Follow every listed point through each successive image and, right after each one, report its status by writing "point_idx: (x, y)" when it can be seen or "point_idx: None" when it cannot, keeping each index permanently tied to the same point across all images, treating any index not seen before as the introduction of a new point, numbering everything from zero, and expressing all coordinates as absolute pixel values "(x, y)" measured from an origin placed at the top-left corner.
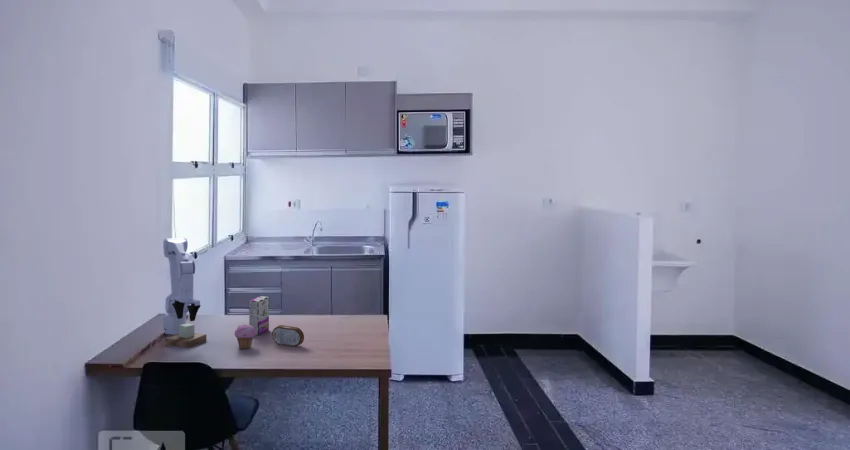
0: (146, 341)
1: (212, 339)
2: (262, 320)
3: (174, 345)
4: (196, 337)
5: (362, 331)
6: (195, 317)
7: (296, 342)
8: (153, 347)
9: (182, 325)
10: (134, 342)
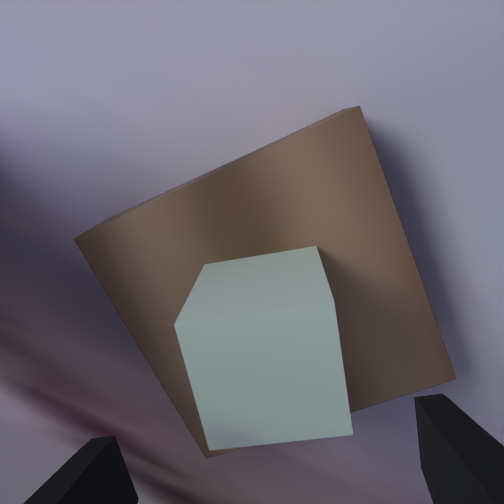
0: (32, 445)
1: (342, 22)
2: None
3: None
4: (393, 265)
5: None
6: (486, 432)
7: None
8: (214, 485)
9: (255, 429)
10: (14, 499)
